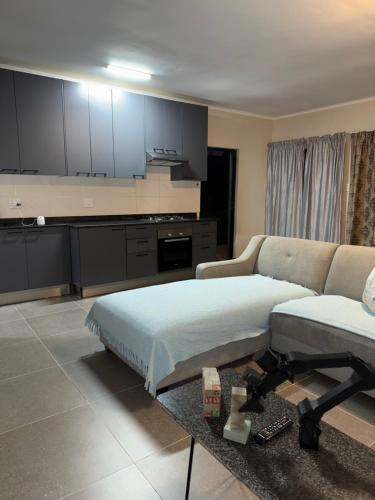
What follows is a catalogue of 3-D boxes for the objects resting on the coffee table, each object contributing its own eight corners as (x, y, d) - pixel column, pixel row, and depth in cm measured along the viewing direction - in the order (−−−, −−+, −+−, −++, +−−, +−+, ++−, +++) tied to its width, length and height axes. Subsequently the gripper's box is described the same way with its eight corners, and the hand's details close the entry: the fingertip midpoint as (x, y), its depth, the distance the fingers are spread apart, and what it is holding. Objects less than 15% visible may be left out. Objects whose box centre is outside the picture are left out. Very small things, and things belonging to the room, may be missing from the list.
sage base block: (250, 430, 128) (250, 421, 127) (245, 445, 121) (245, 435, 120) (229, 424, 131) (229, 415, 130) (223, 438, 124) (223, 428, 123)
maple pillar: (244, 421, 127) (246, 388, 126) (244, 429, 122) (246, 395, 121) (230, 419, 128) (232, 386, 126) (230, 427, 123) (232, 394, 121)
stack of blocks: (201, 386, 155) (202, 361, 153) (215, 386, 155) (216, 361, 153) (203, 417, 134) (204, 389, 132) (220, 417, 134) (221, 389, 132)
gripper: (257, 350, 128) (226, 373, 133) (256, 376, 110) (220, 402, 115) (277, 372, 128) (246, 394, 133) (279, 402, 110) (243, 427, 115)
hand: (239, 403), depth 124 cm, fingers open, 9 cm apart
